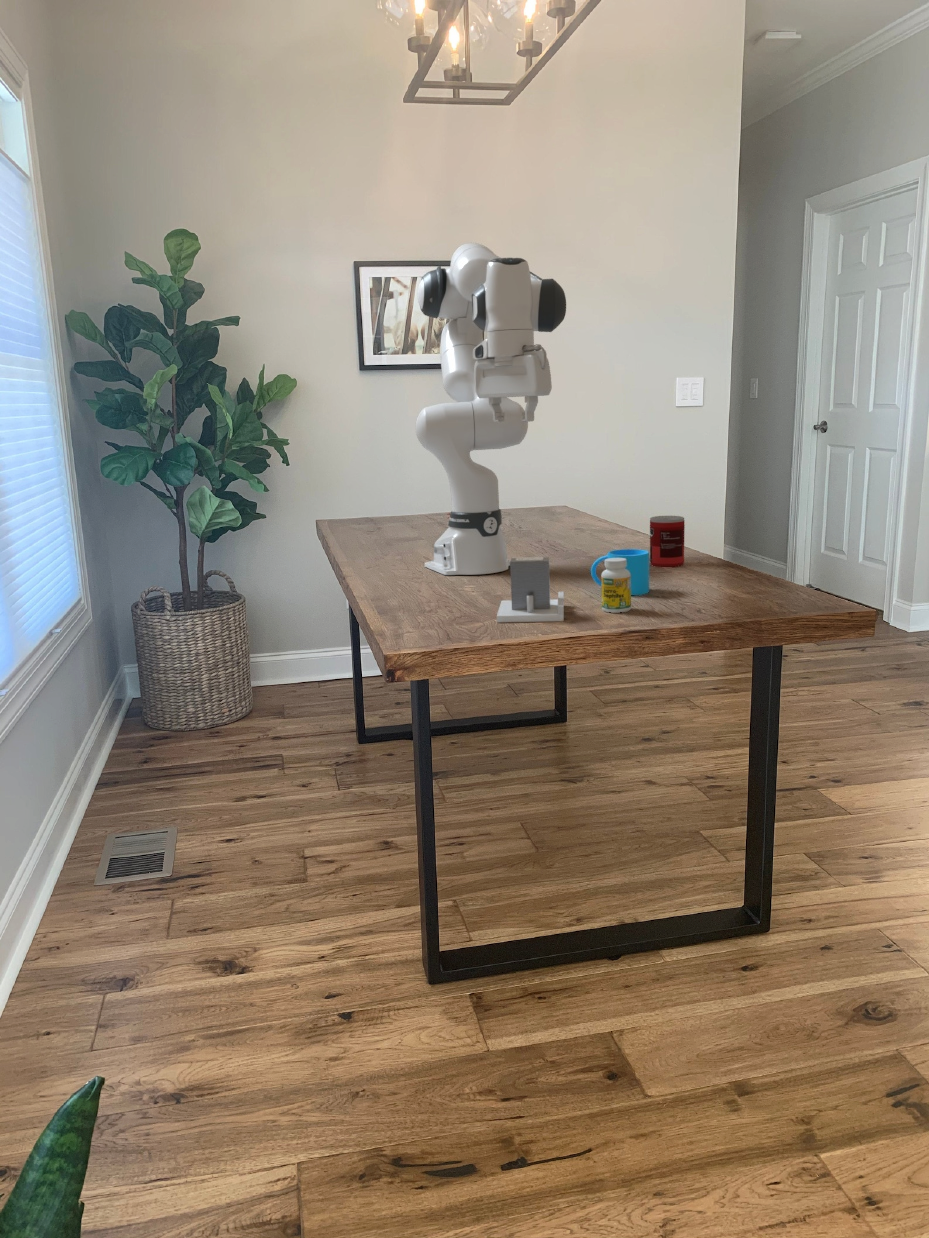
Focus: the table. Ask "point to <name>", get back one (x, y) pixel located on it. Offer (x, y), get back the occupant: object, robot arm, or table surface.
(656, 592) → the table surface
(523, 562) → the block
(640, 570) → the mug
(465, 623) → the table surface
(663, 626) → the table surface
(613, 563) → the supplement bottle
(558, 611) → the white pegged base
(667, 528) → the canned food
